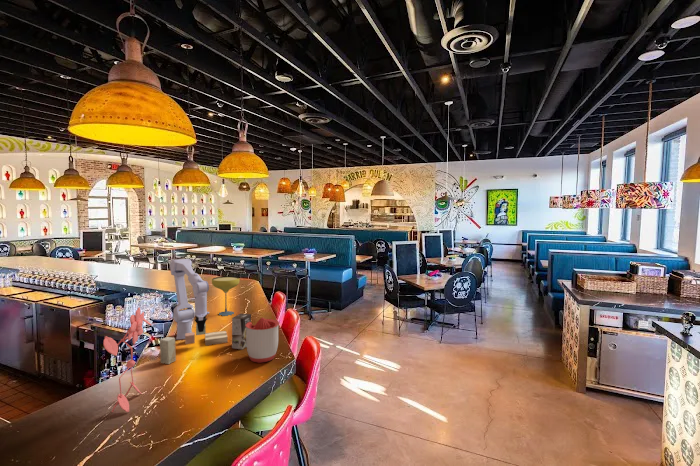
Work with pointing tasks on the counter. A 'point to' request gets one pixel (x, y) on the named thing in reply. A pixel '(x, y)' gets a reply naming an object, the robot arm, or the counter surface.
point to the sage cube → (200, 332)
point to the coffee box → (239, 330)
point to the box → (167, 350)
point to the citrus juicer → (262, 340)
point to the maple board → (216, 338)
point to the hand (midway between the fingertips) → (201, 330)
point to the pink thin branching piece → (113, 349)
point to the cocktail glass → (225, 288)
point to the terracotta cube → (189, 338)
